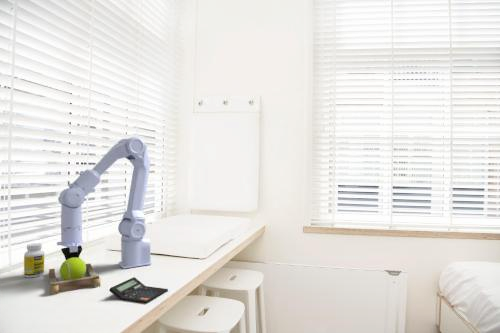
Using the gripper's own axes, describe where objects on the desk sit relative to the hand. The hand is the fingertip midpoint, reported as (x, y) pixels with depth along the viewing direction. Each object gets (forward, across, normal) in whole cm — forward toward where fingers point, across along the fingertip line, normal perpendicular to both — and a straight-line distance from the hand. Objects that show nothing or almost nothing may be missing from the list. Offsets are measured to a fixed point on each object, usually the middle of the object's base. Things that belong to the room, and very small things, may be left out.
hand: (72, 270), depth 107 cm
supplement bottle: (+2, -9, -10) cm, 13 cm away
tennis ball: (+2, +5, 0) cm, 5 cm away
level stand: (+2, +2, 0) cm, 3 cm away
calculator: (+2, +26, +14) cm, 30 cm away
